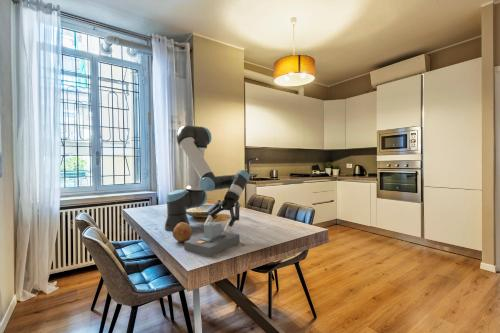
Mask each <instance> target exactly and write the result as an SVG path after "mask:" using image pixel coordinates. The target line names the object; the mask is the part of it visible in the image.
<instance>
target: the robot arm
mask: <svg viewBox="0 0 500 333" xmlns="http://www.w3.org/2000/svg"><path fill="white" fill-rule="evenodd" d="M211 142H212V133H211V131H210V129H208V128H207V127H203V126H195V125H183V126H181V127H179V129H178V130H177V132H176V143H177V145H178V146H179V148H180V149H182V150H183V151H184V154H185V155H186V157H187V158H188V160H189V164H190V165H189V178H188V185H187V186H186V188H185V189H175V190H172V191H169V192H167V194H166V208H167V209H166V212H167V215H166V216H167V217H166V220H165V224H164V230H165V231H170V232H173V230H174V228H175V227H176V225H177V224H179V223H181V222H184V223H187V224H189V225H190V224H191V223H190V221H189V218H188V217H189V216H188V214H187V210H190V209H195V208H197V209H198V208H200V207H202V206H204V205H205V204H206V203H207V199H208V194H207V192H214V191H216V190H217V191H219V190H226V189H228V190H227V191H226V193H225V195H224V199H223V200H222V201H221V199H218V200H217V201H216V203H215V204H214V205H213V206H212V207H211V208H210V209H208V210H207V211H206V214H207V217H206V219H205V222H204V224H203V227H204V225H205V224H208V222H213V219H214V218H213V217H215V216H216V215H217V214H219V213H221V212H222V211H229V215H230V218H228V220H227V223H226V225H225V227H224V229H223V232H226V233H228V232H229V233H230V229H231V228H232V227H233V226H234V224H235V222H236V221H237V222H238V221H240V208H241V204H240V202H239V200H240V198H241V196H242V194H243V192H244V190H245V188H246V186H247V184H248V183H249V180H250V177H251V176H250V174H249V173H248V172H247V171H246V170H244V169H239V170H238V171H237V172H236V174H230V175H218V176H217V175H215V173H214V172H213V171H212V169H211V167H210V165H209V164H208V162H207V161H206V160H205V150H207V148H208V146H209V145H210V143H211ZM190 226H191V225H190Z"/></svg>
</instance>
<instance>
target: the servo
mask: <svg viewBox="0 0 500 333" xmlns="http://www.w3.org/2000/svg"><path fill="white" fill-rule="evenodd" d="M204 224H205V223H204ZM204 224H203V225H204ZM221 231H222V222H219V221H218V222H217V221H211V222H208V224H205V225H204V226H203V235H204V237H203V238H201V239H200V240H201V241H205V242H207V243H208V242H214V241H216V240H219V239H221V238H222V236H225V233H221Z"/></svg>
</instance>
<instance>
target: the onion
mask: <svg viewBox="0 0 500 333" xmlns="http://www.w3.org/2000/svg"><path fill="white" fill-rule="evenodd" d="M172 235H173V238H174V239H175V240H176V241H177V242H179V243H184V242H185V241H188V240H191V237H192V235H193V228H192V226H191V225H189V224H187V223H184V222H181V223H179V224H177V225H176V227H175V228H174V230H173V231H172Z"/></svg>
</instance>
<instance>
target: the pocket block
mask: <svg viewBox="0 0 500 333" xmlns="http://www.w3.org/2000/svg"><path fill="white" fill-rule="evenodd" d="M221 233H225V236H222V238H221V239H219V240H216V241H214V242H208V243H207V242H205V241H201V240H200V239H201V238H203V237H204V234H202V235H199V236H196V237H194V238H190V239H189V240H188V241H184V242H183V243H184V251H187V252H191V253H194V254H197V255H202V256H203V257H204V256H205V257H209V258H211V257H213V256H215V255H217V254H219V253H221V252H222V251H225V250H227V249H229V248H231V247H233V246H235V245H237V244H239V243H241V242H240V241H241V240H240V239H241V237H240V234H239V233H234V232H230V231H229V232H228V233H226V232H225V231H224V230H221Z"/></svg>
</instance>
